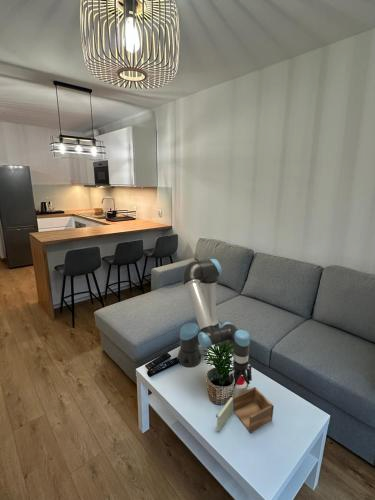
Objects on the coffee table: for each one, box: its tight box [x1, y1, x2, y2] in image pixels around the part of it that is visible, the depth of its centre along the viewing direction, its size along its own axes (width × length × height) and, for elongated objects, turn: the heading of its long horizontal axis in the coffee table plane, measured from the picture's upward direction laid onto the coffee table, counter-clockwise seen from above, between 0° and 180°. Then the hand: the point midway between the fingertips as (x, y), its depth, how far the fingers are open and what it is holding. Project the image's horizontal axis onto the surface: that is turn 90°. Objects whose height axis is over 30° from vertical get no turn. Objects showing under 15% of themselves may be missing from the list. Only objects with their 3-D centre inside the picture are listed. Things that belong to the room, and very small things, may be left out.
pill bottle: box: [234, 375, 248, 397], centre depth 139 cm, size 8×8×11 cm
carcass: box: [232, 386, 275, 434], centre depth 127 cm, size 13×14×9 cm
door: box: [215, 397, 234, 432], centre depth 125 cm, size 13×2×9 cm, turn 142°
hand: (238, 394), depth 140 cm, fingers closed on pill bottle, 8 cm apart
